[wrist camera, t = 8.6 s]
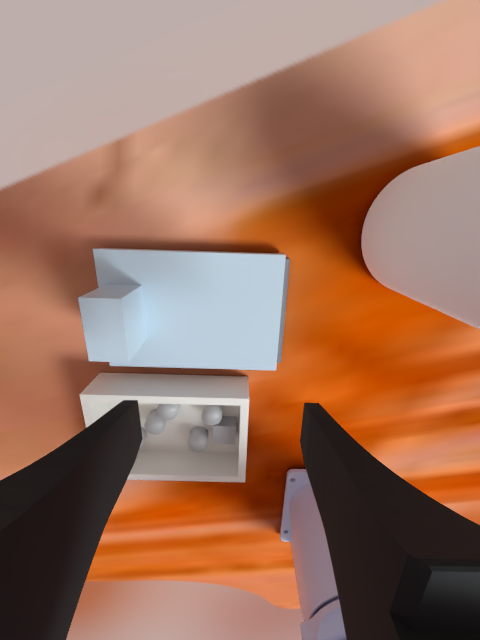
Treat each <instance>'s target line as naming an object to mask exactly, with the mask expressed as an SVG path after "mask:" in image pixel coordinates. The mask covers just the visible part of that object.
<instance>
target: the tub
mask: <svg viewBox="0 0 480 640" xmlns="http://www.w3.org/2000/svg"><path fill="white" fill-rule="evenodd" d="M79 395H80V400H81V405H82V410H83V415H84V420H85V425H86V428H87V427H88V426H90V425H91V424H92V423H94V422H95V421H96V420H98V419H99V418H100V417H102V416H103V415H104V414H105V413H107V412H108V411H109V410H111V409H112V408H113V407H115V406H116V405H117V404H119V403H120V402H122V401H123V400H138V406H139V414H140V422H141V430H142V438H143V439H142V442H141V445H140V448H139V451H138V454H137V457H136V460H135V463H134V465H133V467H132V469H131V471H130V474H129V476H128V478H127V480H164V481H208V482H245V477H246V456H247V435H248V414H249V384H248V376H214V375H176V374H138V373H99V374H98V375H97V376H96V377H95V378H94V379H93V381H92V382H91V383H90V384H89V385H88V386H87V387H86V388H85V389H84V390H83V391H82V392H81V393H80V394H79Z"/></svg>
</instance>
